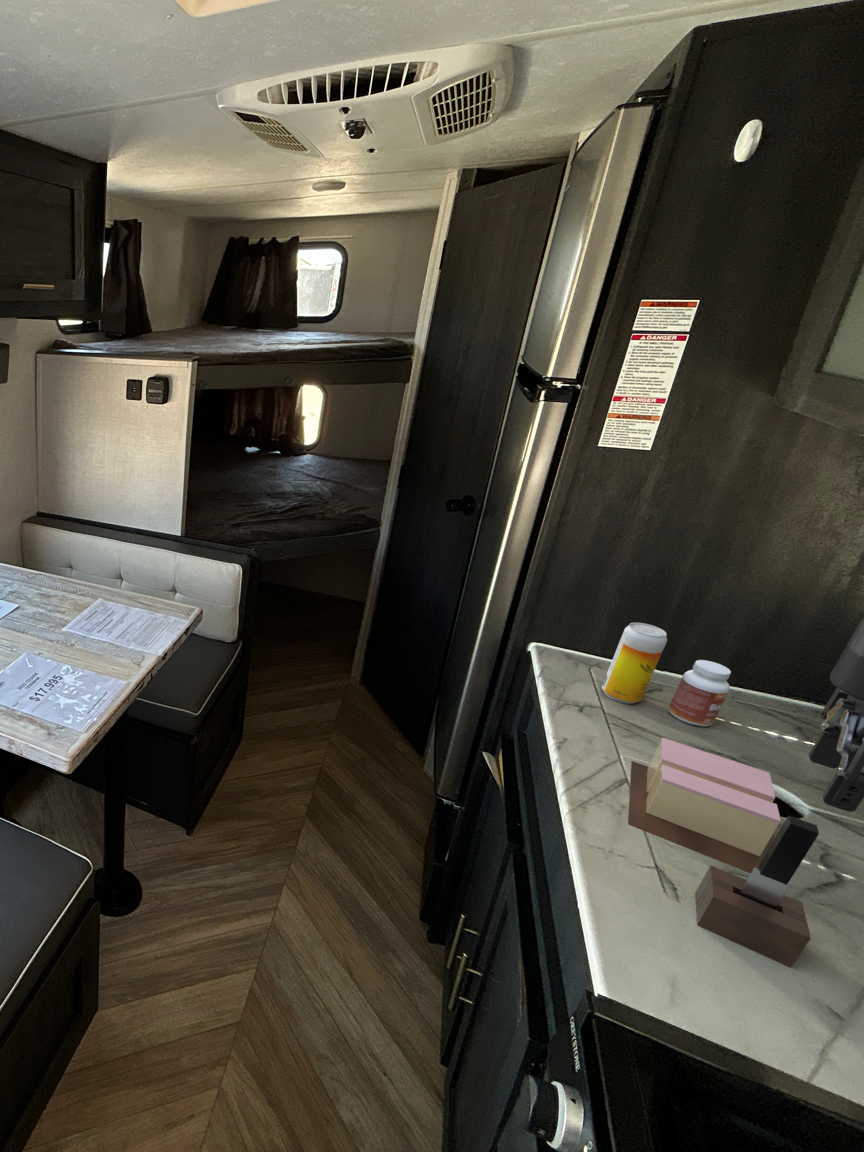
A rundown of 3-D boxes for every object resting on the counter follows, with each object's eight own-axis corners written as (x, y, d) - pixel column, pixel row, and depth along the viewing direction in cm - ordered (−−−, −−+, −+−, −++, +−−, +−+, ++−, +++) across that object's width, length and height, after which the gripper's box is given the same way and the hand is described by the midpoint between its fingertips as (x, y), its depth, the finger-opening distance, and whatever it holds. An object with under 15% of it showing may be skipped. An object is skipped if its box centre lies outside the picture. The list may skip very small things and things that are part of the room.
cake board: (765, 813, 95) (768, 808, 95) (782, 892, 83) (785, 887, 82) (629, 765, 105) (631, 760, 105) (625, 829, 93) (627, 824, 92)
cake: (751, 806, 95) (769, 772, 93) (755, 832, 91) (775, 797, 88) (647, 769, 103) (662, 737, 100) (646, 792, 98) (662, 758, 96)
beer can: (644, 709, 119) (673, 640, 113) (603, 699, 122) (630, 632, 116) (636, 692, 124) (664, 626, 118) (597, 683, 127) (623, 618, 121)
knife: (756, 931, 77) (822, 826, 70) (758, 940, 76) (824, 835, 69) (723, 916, 79) (783, 813, 72) (723, 925, 78) (785, 821, 71)
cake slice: (756, 839, 90) (777, 804, 87) (759, 856, 87) (781, 821, 84) (646, 797, 97) (662, 764, 94) (646, 812, 94) (662, 778, 92)
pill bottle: (708, 732, 113) (733, 680, 109) (663, 715, 117) (686, 665, 113) (715, 719, 116) (740, 668, 112) (671, 703, 121) (694, 653, 117)
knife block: (780, 936, 77) (802, 902, 75) (787, 973, 73) (811, 938, 71) (692, 898, 82) (710, 864, 80) (693, 930, 78) (713, 896, 76)
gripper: (996, 705, 55) (899, 842, 61) (944, 641, 65) (866, 765, 71) (865, 672, 59) (788, 803, 66) (836, 618, 69) (771, 736, 76)
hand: (828, 783), depth 68 cm, fingers open, 8 cm apart
